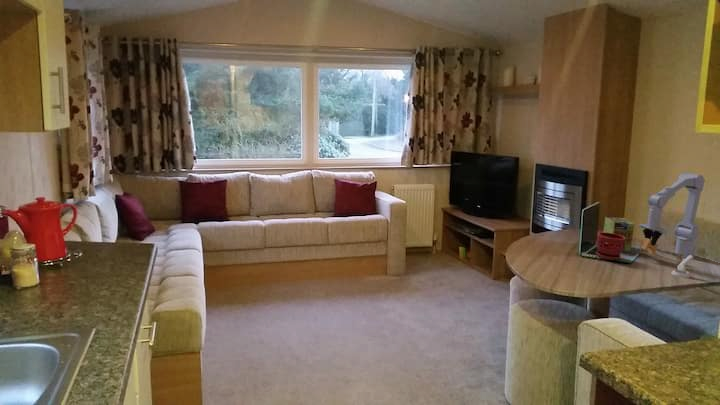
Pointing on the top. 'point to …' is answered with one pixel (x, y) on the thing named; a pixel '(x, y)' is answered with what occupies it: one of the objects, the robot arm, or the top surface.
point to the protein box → (620, 229)
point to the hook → (682, 268)
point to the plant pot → (610, 245)
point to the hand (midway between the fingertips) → (650, 244)
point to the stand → (665, 258)
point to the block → (648, 244)
